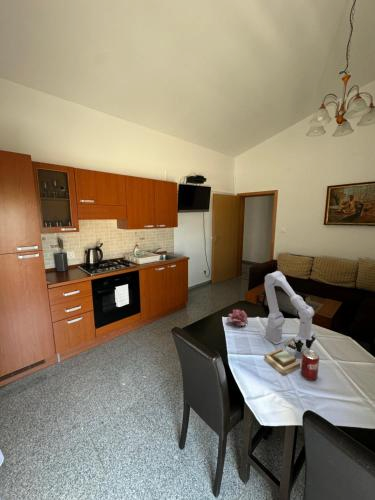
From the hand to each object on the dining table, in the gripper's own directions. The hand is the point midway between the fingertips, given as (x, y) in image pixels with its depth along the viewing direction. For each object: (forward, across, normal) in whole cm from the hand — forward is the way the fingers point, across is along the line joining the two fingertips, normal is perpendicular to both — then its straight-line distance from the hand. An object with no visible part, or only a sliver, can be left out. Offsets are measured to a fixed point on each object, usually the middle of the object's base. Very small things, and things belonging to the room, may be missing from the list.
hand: (303, 349), depth 121 cm
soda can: (+3, -12, -12) cm, 17 cm away
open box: (+3, -15, 0) cm, 15 cm away
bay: (+3, -16, 0) cm, 16 cm away
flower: (+3, -12, +44) cm, 46 cm away
